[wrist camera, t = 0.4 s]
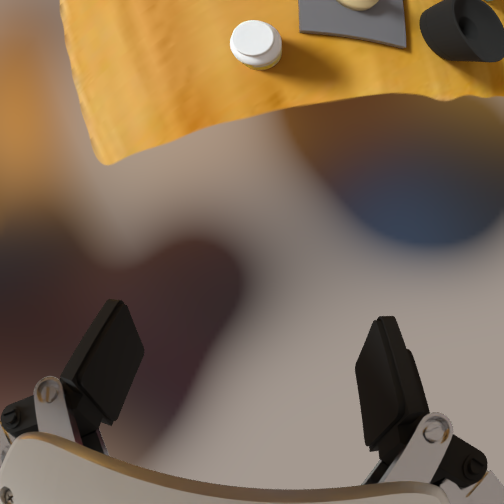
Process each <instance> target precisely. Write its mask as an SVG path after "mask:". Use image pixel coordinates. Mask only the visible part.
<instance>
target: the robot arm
mask: <svg viewBox="0 0 504 504" xmlns="http://www.w3.org/2000/svg"><path fill="white" fill-rule="evenodd" d="M143 356H144V347H143V345H142V343H141V340H140V338H139V335H138V332H137V330H136V327H135V325H134V323H133V320H132V317H131V315H130V312H129V310H128V307H127V305H125V304H124V302H123V301H121V300H114V299H109V300H107V301H106V303H105V304H104V306H103V307H102V309H101V310H100V312H99V313H98V315H97V316H96V318H95V319H94V321H93V322H92V324H91V326H90V327H89V329H88V330H87V332H86V334H85V335H84V337H83V338H82V340H81V341H80V343H79V345H78V346H77V348H76V350H75V351H74V353H73V355H72V356H71V358H70V360H69V361H68V363H67V365H66V367H65V368H64V370H63V372H62V374H61V376H60V377H61V378H60V380H59V379H57V378H55V377H45V378H43V379H41V380H40V381H39V382H38V383H37V385H36V386H35V389H34V395H33V396H30V397H27V398H25V399H23V400H20V401H18V402H15V403H13V404H10V405H8V406H7V407H6V408H5V409H4V410H3V412H2V415H1V421H0V504H504V486H503V485H502V484H501V482H500V481H499V480H498V479H497V477H496V476H495V475H494V473H493V472H492V471H491V470H490V471H487V459H486V456H485V455H484V454H483V453H482V452H481V451H479V450H478V449H476V448H475V447H473V446H471V445H470V444H468V443H466V442H465V441H463V440H462V439H460V438H458V437H457V436H455V435H453V426H452V423H451V421H450V420H449V418H448V417H447V416H445V415H444V414H442V413H439V412H433V413H430V412H429V408H428V404H427V401H426V397H425V393H424V390H423V386H422V383H421V380H420V377H419V373H418V370H417V367H416V364H415V361H414V358H413V355H412V353H411V351H410V350H409V349H406V346H405V343H404V340H403V338H402V335H401V332H400V329H399V327H398V324H397V321H396V319H395V317H394V316H380V317H378V319H377V320H374V321H373V323H372V326H371V328H370V331H369V334H368V336H367V338H366V341H365V343H364V346H363V348H362V351H361V353H360V355H359V358H358V360H357V362H356V366H355V373H356V379H357V385H358V392H359V399H360V405H361V414H362V421H363V430H364V439H365V444H366V446H369V448H370V452H371V451H379V459H380V460H379V462H378V463H377V464H376V466H375V467H374V469H373V470H372V471H371V473H370V474H369V475H368V477H367V478H366V479H365V481H364V482H363V483H362V484H361V485H360V486H352V487H341V488H326V489H304V490H281V489H257V488H246V487H236V486H227V485H220V484H212V483H207V482H201V481H196V480H191V479H186V478H180V477H176V476H172V475H168V474H164V473H160V472H157V471H153V470H149V469H146V468H143V467H139V466H136V465H133V464H130V463H127V462H124V461H121V460H118V459H116V458H113V457H110V456H109V454H108V451H107V448H106V446H105V443H104V440H103V438H102V435H101V432H100V430H99V426H100V423H101V422H102V423H105V424H108V425H111V426H112V424H113V421H116V420H117V419H118V416H119V414H120V411H121V409H122V406H123V404H124V401H125V399H126V396H127V394H128V391H129V389H130V387H131V384H132V382H133V379H134V377H135V374H136V372H137V370H138V367H139V365H140V363H141V361H142V358H143Z"/></svg>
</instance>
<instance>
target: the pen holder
mask: <svg viewBox="0 0 504 504" xmlns="http://www.w3.org/2000/svg"><path fill="white" fill-rule="evenodd" d="M420 29H421V33H422V35H423V38H424V39H425V41H426V43H427V44H428V46H429V47H430V48H431V49H432V50H433V51H434V52H435V53H436V54H437V55H439V56H440V57H442V58H444V59H447V60H451V61H476V62H497V61H499V60H501V59H503V58H504V28H503V25H502V23H501V21H500V20H499V18H498V16H497V15H496V13H495V12H494V11H493V10H492V8H491V7H490V6H489V5H487V4H486V3H485V2H483V1H481V0H443V1H441V2H439V3H437V4H435V5H434V6H432V7H430V8H429V9H427V10H426V11H424V12H423V13H422V15H421V17H420Z"/></svg>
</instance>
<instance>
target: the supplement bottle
mask: <svg viewBox="0 0 504 504" xmlns="http://www.w3.org/2000/svg"><path fill="white" fill-rule="evenodd" d="M230 48H231V51H232V53H233V54H234V56H235V57H236V58H237V59H238V60H239V61H241V62H242V63H243V64H244V65H246V66H247V67H249V68H251V69H254V70H266V69H269V68H272V67H273V66H275V65H276V64H277V63H278V62H279V60H280V58H281V55H282V41H281V37H280V34H279V33H278V31H277V30H276V29H275V28H274V27H273V26H271V25H270V24H268V23H265V22H261V21H257V20H249V21H245V22H243V23H241V24H239V25H238V26H237V27H236V28H235V30H234V31H233V34H232V36H231V39H230Z"/></svg>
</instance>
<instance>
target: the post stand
mask: <svg viewBox="0 0 504 504" xmlns="http://www.w3.org/2000/svg"><path fill="white" fill-rule="evenodd" d="M298 4H299V29H300V33H310V34H322V35H331V36H340V37H347V38H353V39H359V40H365V41H370V42H375V43H380V44H385V45H389V46H393V47H397V48H401V49H403V48H406V31H405V18H404V8H403V0H298Z"/></svg>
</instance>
